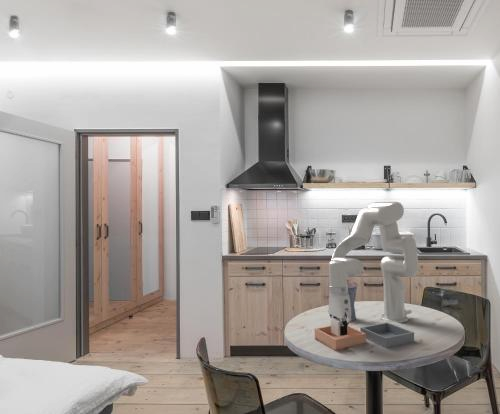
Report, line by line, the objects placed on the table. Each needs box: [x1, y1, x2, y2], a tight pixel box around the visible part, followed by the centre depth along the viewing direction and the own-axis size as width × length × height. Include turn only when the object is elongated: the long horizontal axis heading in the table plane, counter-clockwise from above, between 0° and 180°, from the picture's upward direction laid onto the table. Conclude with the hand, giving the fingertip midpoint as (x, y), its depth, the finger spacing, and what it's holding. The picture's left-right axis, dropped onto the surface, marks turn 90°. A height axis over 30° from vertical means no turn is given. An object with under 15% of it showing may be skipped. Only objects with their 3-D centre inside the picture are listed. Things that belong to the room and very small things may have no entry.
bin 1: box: [314, 325, 367, 352], centre depth 155 cm, size 15×15×4 cm
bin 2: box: [359, 321, 415, 349], centre depth 155 cm, size 15×15×4 cm
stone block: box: [330, 317, 349, 336], centre depth 155 cm, size 5×5×6 cm
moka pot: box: [347, 279, 358, 322], centre depth 186 cm, size 10×15×20 cm, turn 24°
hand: (339, 332), depth 155 cm, fingers closed on stone block, 4 cm apart
